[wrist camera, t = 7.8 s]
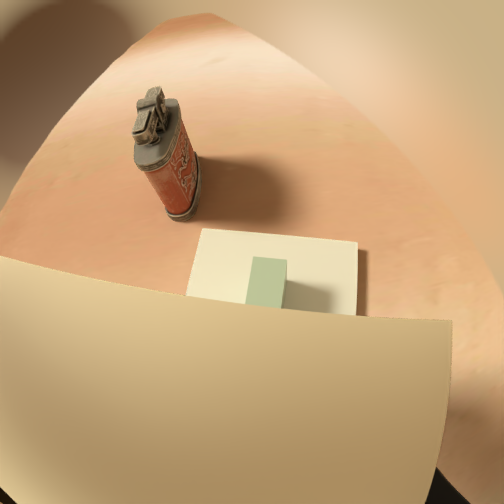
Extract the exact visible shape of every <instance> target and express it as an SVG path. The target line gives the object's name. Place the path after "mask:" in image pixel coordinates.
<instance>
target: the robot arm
mask: <svg viewBox="0 0 504 504" xmlns="http://www.w3.org/2000/svg"><path fill="white" fill-rule="evenodd" d="M0 504H17V503H16V502H15V501H14V500H13V499H12V498H11V497H10V496H9V495H8V494H7V493H6V492H5V491H4V490H3V489H2V488H1V487H0ZM425 504H470V503H469V502H468V501H467V500H466V499H465V498H464V497H463V496H462V495H461V494H460V493H459V492H458V491H457V490H456V489H455V488H454V487H453V486H452V485H451V483H450V482H449V481H448V480H447V479H446V478H445V477H444V475H443V474H442V473H441V472H440V471H439V469H438V468H437V467H436V469H435V472H434V476H433V479H432V483H431V486H430V489H429V492H428V496H427V498H426V501H425Z"/></svg>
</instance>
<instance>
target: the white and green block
mask: <svg viewBox="0 0 504 504" xmlns="http://www.w3.org/2000/svg"><path fill="white" fill-rule="evenodd" d="M357 274H358V242H350V241H340V240H330V239H320V238H310V237H300V236H289V235H278V234H267V233H255V232H244V231H232V230H219V229H207V228H202V232H201V236H200V240H199V243H198V247H197V251H196V255H195V259H194V263H193V267H192V271H191V275H190V279H189V283H188V287H187V292H186V296H193V297H199V298H206V299H212V300H219V301H226V302H233V303H241V304H249V305H256V306H264V307H273V308H282V309H291V310H300V311H310V312H320V313H331V314H343V315H356V304H357Z"/></svg>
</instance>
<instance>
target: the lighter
mask: <svg viewBox="0 0 504 504" xmlns="http://www.w3.org/2000/svg"><path fill="white" fill-rule="evenodd" d="M164 98H165V96H164V93H163V91H162V88H161V87H160V86H157V87H154V88H151V89H149V90H148V91H147V93H146V95H145V98H144V99H140V100H138V102H137V112H138V116H137V119H136V121H135V124H134V127H133V130H132V136H133V138H134V140H135V145H134V161H135V163H136V165H137V167H138V168H139V169H140V170H141V171H144V173H145V175H146V176H147V178H148V179H149V181H150V183H151V184H152V186H153V188H154V189H155V191H156V192H157V194H158V196H159V197H160V199H161V200H162V202H163V204H164V205H165V210H166V213H167V214H168V216H169V217H170V218H171V219H172V220H173V221H176V222H182V221H186V220H188V219H190V218H191V217H192V216H193V215H194V214H195V212H196V209H197V206H198V202H199V198H200V192H201V185H202V177H201V167H200V162H199V158H198V156H197V154H196V152H195V151H193V148H192V146H191V143H190V140H189V138H188V135H187V132H186V130H185V127H184V124H183V121H182V119H181V111H180V107H179V104H178V101H177V100H176V99H164Z"/></svg>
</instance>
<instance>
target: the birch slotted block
mask: <svg viewBox="0 0 504 504" xmlns="http://www.w3.org/2000/svg"><path fill="white" fill-rule="evenodd" d="M451 364H452V320H428V319H404V318H385V317H370V316H356V315H343V314H331V313H320V312H310V311H300V310H291V309H282V308H273V307H264V306H256V305H249V304H241V303H233V302H226V301H219V300H212V299H206V298H199V297H193V296H186V295H180V294H174V293H168V292H162V291H157V290H151V289H145V288H140V287H135V286H129V285H124V284H119V283H114V282H109V281H104V280H99V279H94V278H90V277H85V276H80V275H76V274H71V273H67V272H63V271H58V270H54V269H50V268H46V267H42V266H38V265H34V264H30V263H26V262H22V261H18V260H14V259H11V258H7V257H3V256H0V487H1V488H2V489H3V490H4V491H5V492H6V493H7V494H8V495H9V496H10V497H11V498H12V499H13V500H14V501H15V502H16V503H17V504H425V501H426V498H427V496H428V492H429V489H430V486H431V483H432V479H433V476H434V472H435V469H436V465H437V461H438V456H439V452H440V448H441V443H442V438H443V433H444V427H445V421H446V415H447V407H448V399H449V390H450V379H451Z"/></svg>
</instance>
